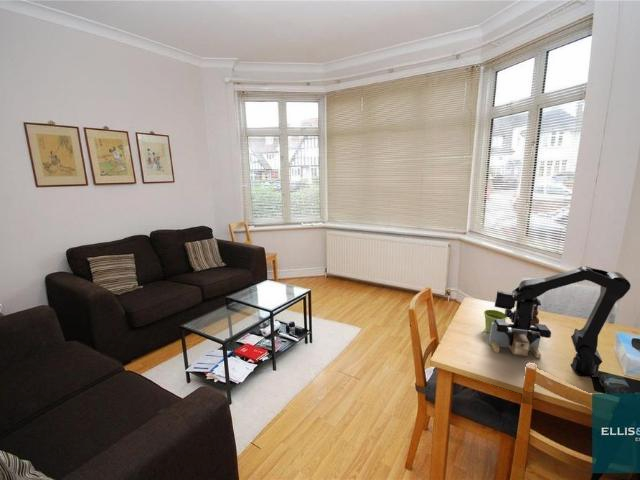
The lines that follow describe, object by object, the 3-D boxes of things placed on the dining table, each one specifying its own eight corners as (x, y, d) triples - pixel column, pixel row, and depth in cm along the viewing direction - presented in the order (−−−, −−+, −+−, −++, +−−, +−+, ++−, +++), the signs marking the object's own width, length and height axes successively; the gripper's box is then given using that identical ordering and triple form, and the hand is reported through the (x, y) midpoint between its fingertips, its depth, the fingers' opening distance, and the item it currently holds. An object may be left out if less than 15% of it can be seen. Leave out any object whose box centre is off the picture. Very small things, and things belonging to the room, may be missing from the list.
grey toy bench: (536, 349, 128) (540, 328, 126) (542, 358, 122) (546, 336, 120) (488, 342, 133) (491, 322, 130) (492, 351, 127) (495, 330, 124)
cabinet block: (521, 345, 127) (523, 333, 126) (527, 356, 120) (530, 343, 119) (508, 344, 129) (510, 331, 127) (513, 354, 122) (515, 341, 120)
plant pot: (477, 328, 144) (479, 312, 142) (489, 323, 148) (492, 307, 146) (495, 338, 136) (498, 321, 134) (508, 333, 140) (511, 316, 138)
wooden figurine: (537, 330, 142) (543, 300, 138) (535, 335, 138) (541, 305, 134) (520, 325, 146) (525, 296, 143) (518, 330, 142) (523, 300, 138)
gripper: (543, 305, 125) (536, 339, 129) (492, 300, 130) (487, 332, 134) (555, 318, 115) (547, 354, 119) (499, 312, 120) (494, 347, 124)
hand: (517, 346), depth 124 cm, fingers closed on cabinet block, 5 cm apart
